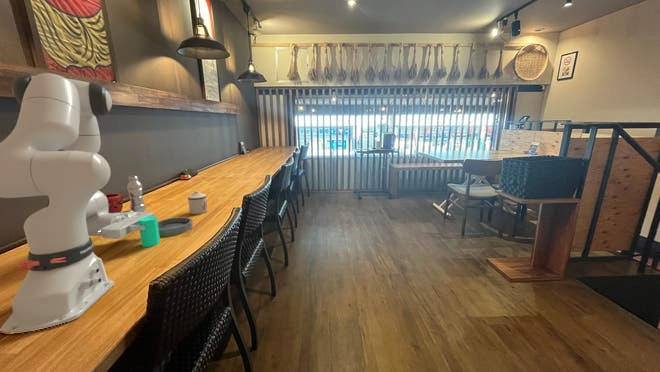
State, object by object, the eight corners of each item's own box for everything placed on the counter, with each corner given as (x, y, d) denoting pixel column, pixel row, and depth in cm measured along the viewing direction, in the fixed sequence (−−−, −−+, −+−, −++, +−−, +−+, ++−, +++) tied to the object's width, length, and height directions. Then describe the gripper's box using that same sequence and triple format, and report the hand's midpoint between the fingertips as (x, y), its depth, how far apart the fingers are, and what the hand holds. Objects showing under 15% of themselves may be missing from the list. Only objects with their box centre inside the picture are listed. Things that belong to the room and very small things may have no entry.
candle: (150, 247, 99) (146, 217, 96) (138, 245, 100) (133, 216, 98) (163, 241, 104) (160, 213, 102) (152, 239, 106) (148, 211, 103)
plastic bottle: (133, 211, 142) (127, 175, 137) (148, 210, 144) (142, 175, 139) (128, 215, 136) (122, 177, 131) (143, 214, 138) (138, 177, 133)
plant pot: (131, 215, 135) (128, 193, 132) (104, 224, 123) (100, 200, 120) (112, 213, 138) (108, 192, 136) (84, 222, 126) (79, 198, 123)
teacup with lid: (207, 213, 139) (205, 192, 137) (188, 215, 136) (186, 194, 133) (208, 207, 150) (206, 187, 147) (190, 209, 146) (187, 189, 144)
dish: (190, 233, 113) (189, 226, 112) (148, 238, 107) (147, 231, 107) (194, 221, 127) (193, 215, 126) (157, 225, 121) (156, 219, 121)
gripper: (89, 226, 90) (129, 226, 90) (132, 209, 110) (165, 209, 110) (92, 243, 91) (132, 243, 91) (135, 223, 111) (167, 223, 111)
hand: (150, 224), depth 101 cm, fingers closed on candle, 5 cm apart
